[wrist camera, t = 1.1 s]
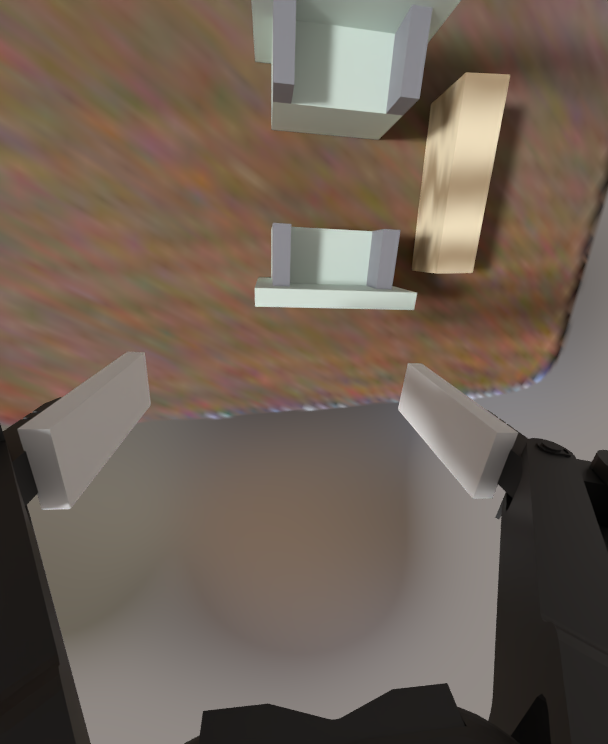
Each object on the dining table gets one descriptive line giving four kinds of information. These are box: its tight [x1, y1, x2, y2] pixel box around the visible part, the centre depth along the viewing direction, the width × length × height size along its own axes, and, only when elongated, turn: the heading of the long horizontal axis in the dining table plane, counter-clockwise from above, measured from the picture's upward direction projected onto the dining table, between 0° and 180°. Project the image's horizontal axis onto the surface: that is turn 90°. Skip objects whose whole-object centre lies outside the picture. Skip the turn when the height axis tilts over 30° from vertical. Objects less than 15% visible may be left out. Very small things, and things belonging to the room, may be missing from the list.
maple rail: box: [412, 72, 510, 274], centre depth 31 cm, size 16×4×6 cm, turn 1°
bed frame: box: [251, 0, 461, 310], centre depth 23 cm, size 22×14×20 cm, turn 178°
